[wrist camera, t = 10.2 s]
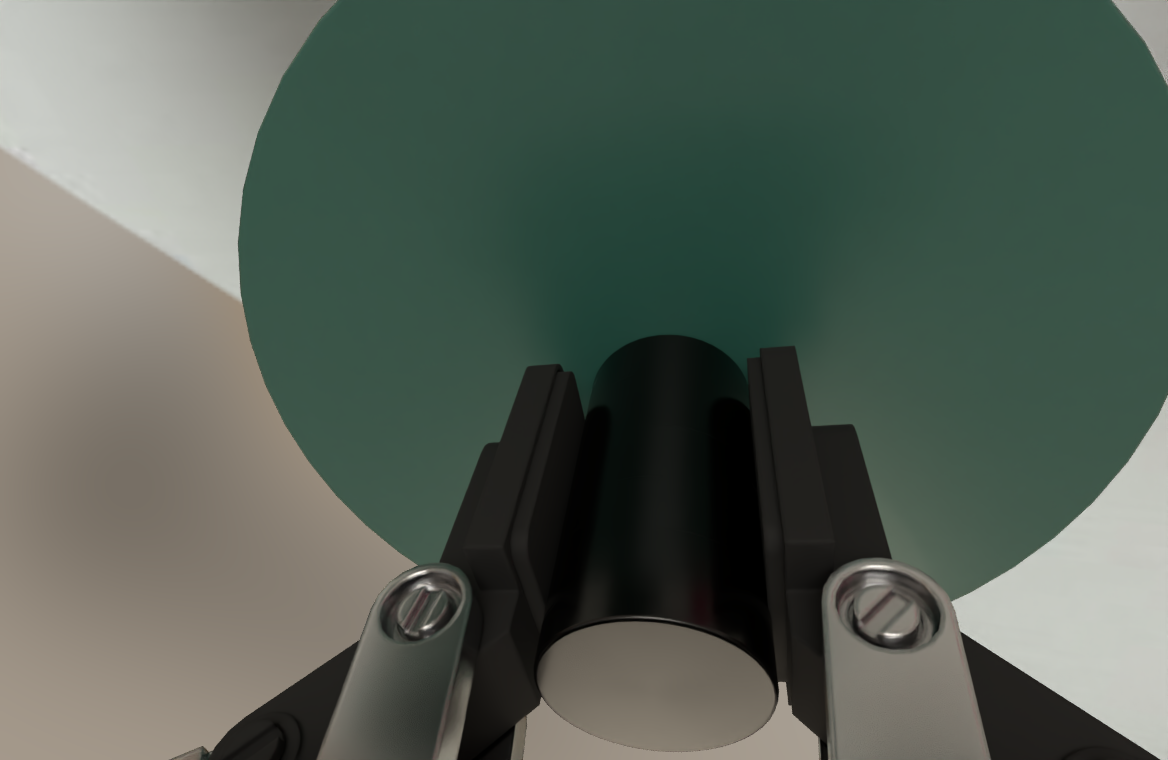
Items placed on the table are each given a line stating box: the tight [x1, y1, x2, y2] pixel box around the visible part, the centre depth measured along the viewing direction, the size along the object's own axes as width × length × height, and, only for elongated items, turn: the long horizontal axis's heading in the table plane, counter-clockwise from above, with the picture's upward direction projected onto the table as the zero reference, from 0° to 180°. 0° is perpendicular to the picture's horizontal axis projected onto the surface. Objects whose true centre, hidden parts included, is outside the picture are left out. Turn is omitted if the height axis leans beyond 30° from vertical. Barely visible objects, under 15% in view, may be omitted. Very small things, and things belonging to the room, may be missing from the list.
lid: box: [238, 0, 1168, 752], centre depth 10 cm, size 16×16×7 cm
